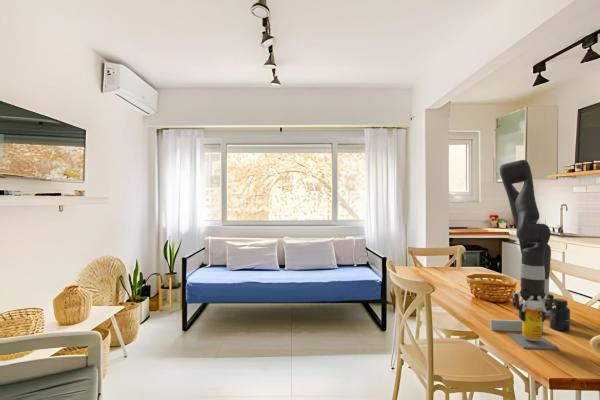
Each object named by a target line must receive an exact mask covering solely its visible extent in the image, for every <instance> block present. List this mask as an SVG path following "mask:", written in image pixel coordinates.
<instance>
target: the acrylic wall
mask: <svg viewBox="0 0 600 400" xmlns="http://www.w3.org/2000/svg"><path fill="white" fill-rule="evenodd" d="M489 321H490V322H489V329H490V330H491V331H507V332H522V320H516V319H515V320H514V319H491V318H490V320H489ZM542 333H544V322H542Z"/></svg>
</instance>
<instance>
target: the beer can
mask: <svg viewBox="0 0 600 400" xmlns="http://www.w3.org/2000/svg"><path fill="white" fill-rule="evenodd" d="M523 302H524V303H525V302H526V301H525V300H523ZM525 312H526V313H525V321H522V320H521V321H522V331H521V334H522V335H523V336H524V338H525V339H528V340H531V341H540V339H542V337H543V332H542V302H541V300H540V301H538V300H536V301H535V300H529V302H528V306H526V310H525Z"/></svg>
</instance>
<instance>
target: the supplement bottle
mask: <svg viewBox="0 0 600 400" xmlns="http://www.w3.org/2000/svg"><path fill="white" fill-rule="evenodd" d="M549 327H550V328H551V329H552V330H556V331H559V332H569V331H571V309H570V307H568V300H567V299H564V298H553V304H552V310H551V311H550V316H549Z"/></svg>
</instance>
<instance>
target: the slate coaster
mask: <svg viewBox="0 0 600 400" xmlns="http://www.w3.org/2000/svg"><path fill="white" fill-rule="evenodd" d="M506 336H508V337H509V338H510V339H511V340H513V341H514V342H515V343H516V344H518V345H519V346H520V347H521V348H523V349H525V350H526V349H528V350H547V351H548V350H549V351H560V347H558V346H557V345H555V344H553V342H551V341H549V340H548V339H547V338H545V337H544V336H542V339H540V341H531V340H528V339H525V338H524V336H523V335H522V333H508V332H507V333H506Z"/></svg>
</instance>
